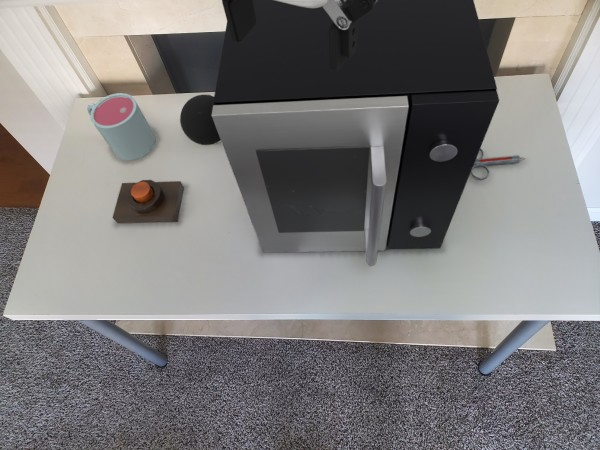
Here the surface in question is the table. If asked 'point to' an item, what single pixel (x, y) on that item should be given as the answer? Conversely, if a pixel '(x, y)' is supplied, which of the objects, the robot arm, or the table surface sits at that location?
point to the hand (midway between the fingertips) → (291, 45)
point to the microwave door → (316, 170)
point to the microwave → (383, 91)
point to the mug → (122, 126)
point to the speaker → (199, 120)
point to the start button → (142, 192)
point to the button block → (150, 203)
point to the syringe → (494, 162)
